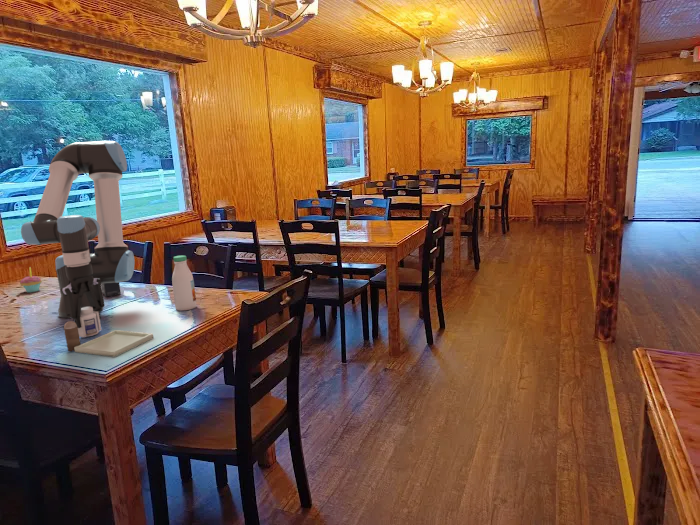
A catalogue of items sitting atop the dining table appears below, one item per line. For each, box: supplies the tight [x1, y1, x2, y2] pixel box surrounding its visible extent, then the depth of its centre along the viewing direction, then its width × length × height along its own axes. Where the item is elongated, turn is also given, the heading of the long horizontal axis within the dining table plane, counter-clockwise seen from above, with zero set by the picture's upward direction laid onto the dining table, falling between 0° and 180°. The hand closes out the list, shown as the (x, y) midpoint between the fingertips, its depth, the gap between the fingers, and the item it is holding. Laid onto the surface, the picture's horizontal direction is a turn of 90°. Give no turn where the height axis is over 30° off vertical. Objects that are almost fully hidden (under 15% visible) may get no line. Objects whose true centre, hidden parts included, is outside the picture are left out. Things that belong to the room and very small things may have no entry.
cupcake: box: [19, 267, 43, 293], centre depth 231 cm, size 9×8×12 cm
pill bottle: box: [81, 307, 100, 338], centre depth 164 cm, size 5×5×9 cm
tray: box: [74, 329, 154, 358], centre depth 154 cm, size 16×16×2 cm
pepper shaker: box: [63, 320, 82, 353], centre depth 152 cm, size 4×4×9 cm
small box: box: [101, 282, 121, 298], centre depth 218 cm, size 11×6×10 cm, turn 34°
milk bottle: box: [171, 255, 197, 311], centre depth 188 cm, size 8×8×20 cm
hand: (90, 333), depth 165 cm, fingers closed on pill bottle, 5 cm apart
